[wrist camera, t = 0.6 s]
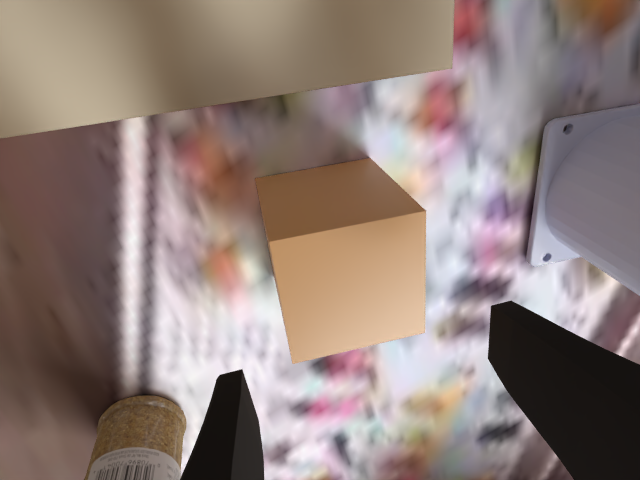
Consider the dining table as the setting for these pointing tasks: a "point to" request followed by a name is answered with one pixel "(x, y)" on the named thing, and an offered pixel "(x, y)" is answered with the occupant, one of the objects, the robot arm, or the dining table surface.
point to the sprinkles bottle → (139, 441)
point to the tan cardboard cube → (344, 257)
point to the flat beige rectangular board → (201, 53)
